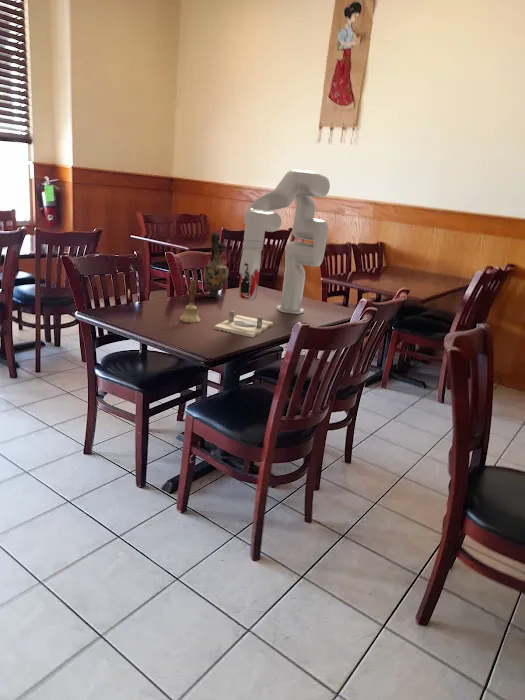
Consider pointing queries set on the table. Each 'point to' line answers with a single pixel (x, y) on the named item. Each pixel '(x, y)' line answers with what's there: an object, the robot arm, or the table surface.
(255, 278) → the soda can
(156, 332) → the table surface
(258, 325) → the tray with two posts
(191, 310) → the hand bell
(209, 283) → the vase
